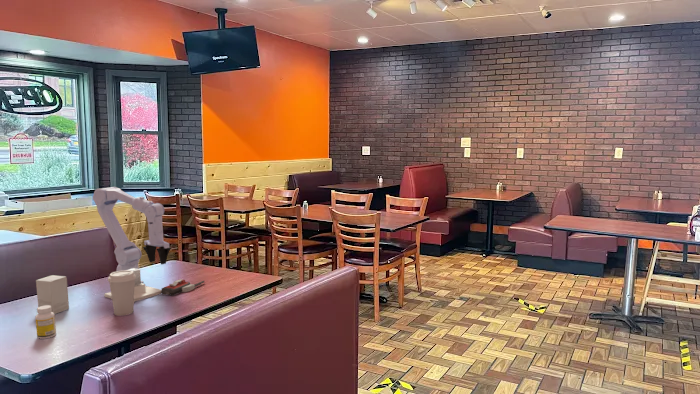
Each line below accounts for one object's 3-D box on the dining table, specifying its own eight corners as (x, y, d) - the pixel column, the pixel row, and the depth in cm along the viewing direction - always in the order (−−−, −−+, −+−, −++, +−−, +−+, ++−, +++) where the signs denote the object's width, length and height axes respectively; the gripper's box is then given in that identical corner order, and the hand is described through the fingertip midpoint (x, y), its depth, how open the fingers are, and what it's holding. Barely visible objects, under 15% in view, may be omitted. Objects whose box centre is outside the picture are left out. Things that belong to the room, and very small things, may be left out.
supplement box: (69, 308, 194) (67, 276, 192) (52, 315, 187) (50, 281, 185) (55, 306, 196) (52, 274, 195) (37, 313, 189) (35, 279, 188)
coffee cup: (110, 318, 183) (107, 278, 181) (109, 310, 191) (106, 271, 189) (139, 314, 187) (136, 274, 185) (136, 306, 196) (134, 268, 194)
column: (126, 286, 209) (125, 270, 208) (135, 283, 213) (134, 268, 212) (132, 287, 207) (131, 271, 206) (140, 285, 210) (140, 269, 210)
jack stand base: (104, 296, 208) (103, 286, 208) (139, 286, 221) (139, 276, 221) (128, 303, 199) (127, 292, 199) (163, 293, 213) (162, 282, 212)
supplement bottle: (42, 333, 170) (40, 304, 169) (59, 332, 170) (57, 304, 169) (33, 339, 164) (31, 310, 163) (51, 339, 165) (49, 309, 164)
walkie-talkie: (175, 298, 207) (206, 284, 226) (174, 287, 207) (206, 275, 225) (158, 295, 210) (190, 282, 229) (157, 285, 210) (189, 273, 228)
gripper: (137, 231, 220) (139, 262, 222) (158, 234, 212) (160, 266, 214) (151, 229, 226) (153, 259, 227) (172, 232, 218) (174, 263, 219)
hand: (157, 262), depth 221 cm, fingers open, 7 cm apart
